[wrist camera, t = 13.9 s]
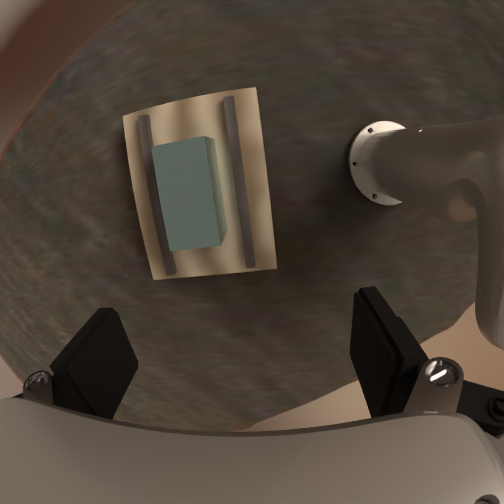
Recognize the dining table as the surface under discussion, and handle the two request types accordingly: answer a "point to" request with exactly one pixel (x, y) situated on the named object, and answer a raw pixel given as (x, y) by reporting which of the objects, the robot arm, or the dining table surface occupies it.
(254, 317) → the dining table surface
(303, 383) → the dining table surface
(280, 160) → the dining table surface
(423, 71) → the dining table surface
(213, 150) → the housing
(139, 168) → the stand
